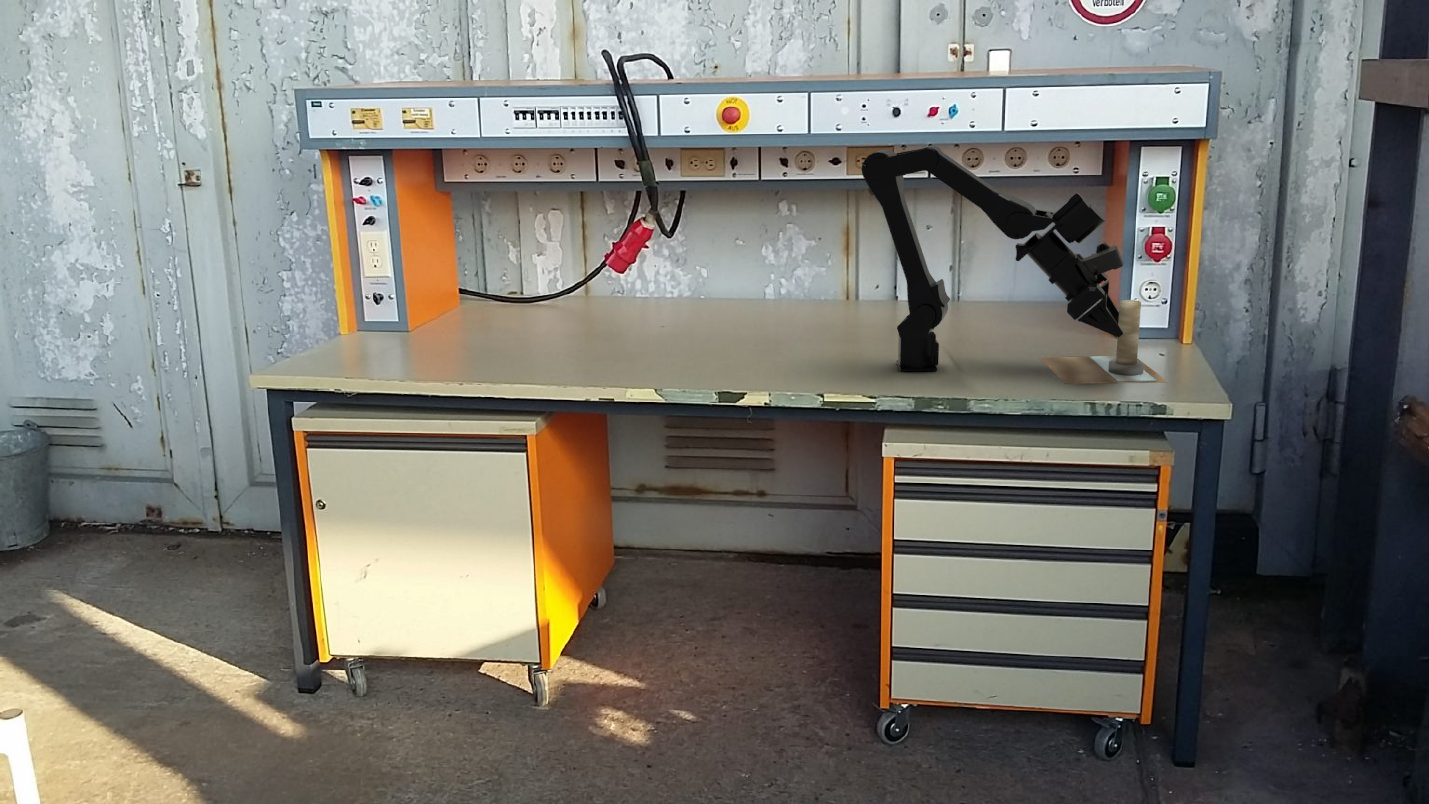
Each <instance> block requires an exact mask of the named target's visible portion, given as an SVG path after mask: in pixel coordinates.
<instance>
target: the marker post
mask: <svg viewBox="0 0 1429 804" xmlns="http://www.w3.org/2000/svg"><path fill="white" fill-rule="evenodd" d="M1118 309H1119V310H1118V311H1119V321H1118V325H1119V327H1120V328H1121V330H1122V332H1123V335H1121V336H1120V337H1116V351H1115V352H1116V353H1115V356H1116V359H1114V360H1111V361H1109V370H1108V371H1109V372H1110V373H1113V374H1117V375H1128V376H1131V375H1140V374H1142V373H1143V367H1144V364H1145V363H1144V362H1143V361H1142V362H1141V360H1140V361H1138V360H1137V358H1138V352H1139V351H1138V350H1139V339H1140V338H1139V337H1140V326H1141V325H1140V324H1141V323H1140V322H1141V309H1142V301H1140V300H1134V299H1124V300H1119V308H1118Z"/></svg>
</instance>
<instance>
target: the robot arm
mask: <svg viewBox="0 0 1429 804" xmlns="http://www.w3.org/2000/svg"><path fill="white" fill-rule="evenodd" d="M924 171H926V172H928V173H929V174H931V175H932V176H933V177H935V178H936V179H938V180H940V181H941V182H943V184H945V185H947V186H948V187H949V188H951V189H952V190H953V191H955V192H956V193H958V194H960V195H961V196H962V197H964V198H965V199H967V200H968V201H969V202H971V203H972V204H974V205H975V206H976V207H978V208H979V209H981V210H982V211H983V213H985V215H986V216H987V217H988V218H989V219H990V221H991V222H992V223H993V224H994V225H995V226H996V228H998V229H999V231H1001V232H1002V233H1003V234H1004V236H1006V237H1007V238H1008V239H1009V238H1010V239H1012V240H1022V239H1024V238H1027V237H1028V236H1030V234H1032V232H1035V233H1034V234H1033V235H1032V236H1031V237H1029V238H1028V239H1027V240H1026V241H1025V242H1024V243H1021V242H1020V243H1019V242H1017V243H1016V244H1015V251H1016V255H1015V260H1016V262H1020V261H1021V260H1022V259H1023V258H1024V257H1026V256H1027V255H1028V257H1029V258H1030V259H1031V261H1033V262H1034V263H1035V265H1037V266H1038V267H1039V269H1040V270H1041V271H1042V272H1043V273H1044V274H1045V275H1046V276H1047V277H1048V281H1049V283H1050V284H1051V285H1056V286H1057V288H1058V289H1059V290H1060V291H1061V292H1062V293H1063V294H1064V295H1065V296H1064V299H1065V300H1066V301H1067V309H1066V313H1067V314H1068V316H1070V317H1071V318H1072V319H1073V321H1076V320H1077V322H1079V323H1080V322H1081V323H1082V324H1086V325H1087V326H1091V327H1093V328H1095V329H1097V330H1100V331H1102V332H1104V333H1106V334H1109V335H1112V336H1113V337H1116V338H1117V337H1120V336H1121V335H1123V332H1122V330H1121V328H1120V327H1119V325H1118V321H1119V310H1118V307H1117V306H1116V305H1115V302H1114V301H1113V299H1112V298H1111V296H1110V294H1109V292H1110V291H1109V290H1110V280H1109V276H1108V275H1107V274H1106V272H1109V271H1111V270H1118V269H1120V268H1122V267H1123V266H1124V261H1123V259H1122V258H1123V257H1122V255H1121V254H1120V251H1119V248H1118V246H1117V245H1112V246H1110V245H1109V244H1108V243H1107V242H1102V243H1099V244H1097V245H1096V250H1095V253H1092V254H1090V255H1088V256H1086V257H1083V255H1082V254H1080V253H1077V252H1076V253H1075V252H1074V251H1072V249H1071V248H1070V247H1069V246H1068V245H1067V244H1066V243H1065V242H1064V240H1065V241H1066V242H1067V243H1068V244H1071V243H1074V242H1076V243H1077V244H1081V243H1082V242H1084V240H1086V239H1087V238H1088V237H1089V236H1090V235H1092V234H1093V233H1094V232H1095V231H1096V230H1097V229H1098V228H1100V227H1101V226H1102V225H1103V224H1104V223H1105V222H1107V220H1106V218H1105V216H1104V215H1103V214H1102V212H1101V211H1100V210H1099V209H1098V208H1097V207H1096V206H1095V205H1094V203H1091V202H1090V201H1089V200H1087V199H1086V198H1085V197H1084V196H1082V195H1081V193H1080V192H1078V191H1076V192H1075V193H1074V194H1072V195H1071V197H1070V198H1069V199H1068V200H1067V201H1066V202H1065V203H1064V204H1063V205H1062V206H1061V207H1060V208H1059V209H1057V210H1056V211H1055V212H1053V211H1049V210H1041V209H1036V207H1035V206H1034V205H1032V204H1031V203H1030V202H1027V201H1026V200H1023V199H1020V198H1019V197H1016V196H1015V195H1012V194H1008V193H1006V192H1004V191H1001V190H999V189H997V188H995V187H993V186H992V185H990V184H989V183H988V182H986V181H985V180H983V179H982V178H980V177H979V176H977V175H976V174H974V173H973V172H971V171H970V170H969V169H968V168H966V167H964V166H963V165H962V164H961V163H959V162H957V161H956V160H954V159H953V158H951V157H950V156H949V155H948V154H946V153H944V152H943V151H942V150H941V148H940V147H939V146H936V145H929V146H925V147H923V148H918V149H912V150H906V151H901V152H897V153H896V152H894V151H893V150H889V149H880V150H878V151H875V152H873V153H871V154H868V155H867V156H866V158H865V159H864V161H863V163H862V165H861V175H862V177H863V179H864V181H865V183H866V185H867V187H868V188H869V190H870V191H871V194H872V195H873V197H874V198H875V199H876V200H877V202H878V203H879V205H880V206H881V208H882V211H883V215H884V217H885V220H886V223H887V227H888V229H889V234H890V236H891V238H892V241H893V244H894V247H895V250H896V254H897V256H898V257H897V258H898V260H899V262H900V265H901V268H902V271H903V273H904V277H905V280H906V292H907V305H908V306H907V307H908V310H909V311H908V312H909V314H907V315H906V316H905V317H904V319H903V320H901V322H900V323H899V325H897V327H896V329H897V333H898V345H897V346H898V349H897V352H898V353H897V354H898V355H897V360H896V361H895V362H896V366H897V367H898V370H899V371H900V372H936V371H938V367H937V366H938V365H939V360H940V359H939V352H940V350H939V349H940V343H939V342H938V340H937V334H936V333H935V332H934V330H935V328H936V327H937V326H939V325H940V324H941V322H942V321H943V320H944V318H945V316H946V315H947V313H948V310H949V302H950V301H951V298H950V297H949V295H948V293H947V292H946V291H947V290H946V285H945V281H944V279H943V278H942V279H939V280H937V281H936V280H935V278H933V276H932V274H931V273H930V271H929V270H930V269H929V268H928V265H927V261H926V259H925V256H924V252H923V250H922V247H921V244H920V240H919V238H918V234H917V231H916V228H915V226H914V221H913V219H912V217H911V213H910V211H909V207H908V204H907V201H906V197H905V182H904V181H905V180H904V176H905V175H906V176H907V175H910V174H914V173H919V172H924ZM1053 223H1054V224H1053ZM1051 224H1053V225H1052V226H1051V227H1050V228H1049V229H1048V230H1047V231H1045V232H1044V233H1043V234H1039V232H1038V233H1037V231H1043V230H1045V229H1047V228H1048V227H1049V226H1050V225H1051ZM1055 230H1056V231H1057V232H1058V234H1059V235H1060V236H1061V237H1062V238H1063V240H1062V238H1061V237H1060V236H1059V235H1058V234H1057V233H1056V232H1055ZM1103 282H1104V283H1103ZM1101 283H1102V284H1101Z"/></svg>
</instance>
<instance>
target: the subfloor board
mask: <svg viewBox="0 0 1429 804" xmlns="http://www.w3.org/2000/svg"><path fill="white" fill-rule="evenodd" d="M1039 359H1040V361H1042V362H1043V363H1044V364H1045V366H1046V367H1048V368H1049V370H1050V371H1052V372H1053V374H1054V375H1056V377H1057V378H1058V379H1059V380H1060V381H1062V382H1063V383H1064V385H1075V384H1077V385H1079V384H1080V385H1081V384H1082V385H1083V384H1086V385H1089V384H1147V383H1148V384H1150V383H1152V384H1153V383H1158V384H1159V383H1160V384H1161V383H1169V381H1168V380H1167V379H1165V378H1164V377H1163V376H1162V375H1161V374H1158V372H1156V371H1155V370H1154V369H1152V368H1151V367H1150V366H1148V365H1147V364H1146V363H1144V367H1143V373H1142V374H1140V375H1131V376H1128V375H1117V374H1113V373H1110V372H1109V371H1108V370H1109V361H1111V360H1114V359H1116V355H1102V356H1101V355H1099V356H1098V355H1097V356H1094V355H1093V356H1066V357H1063V356H1062V357H1061V356H1060V357H1058V356H1057V357H1046V356H1045V357H1044V356H1043V357H1039ZM1137 360H1138V361H1141V360H1140V358H1138V357H1137ZM1141 362H1143V361H1141Z"/></svg>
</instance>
